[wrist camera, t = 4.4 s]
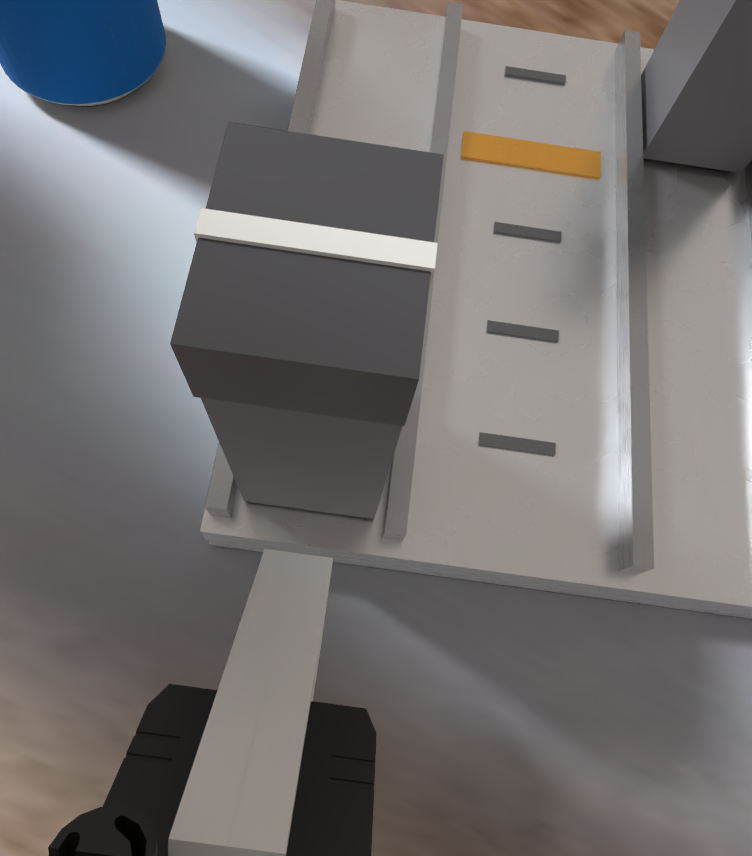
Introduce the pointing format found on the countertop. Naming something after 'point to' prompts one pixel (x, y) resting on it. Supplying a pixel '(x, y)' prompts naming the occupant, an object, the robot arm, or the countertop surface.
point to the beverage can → (80, 47)
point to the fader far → (701, 87)
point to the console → (544, 325)
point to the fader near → (310, 311)
